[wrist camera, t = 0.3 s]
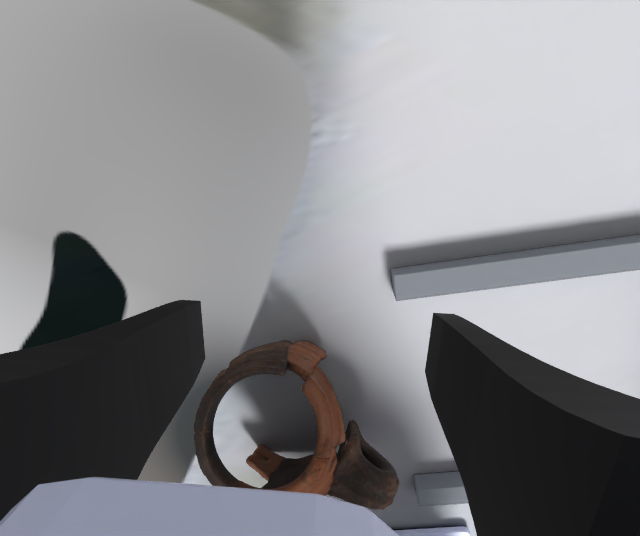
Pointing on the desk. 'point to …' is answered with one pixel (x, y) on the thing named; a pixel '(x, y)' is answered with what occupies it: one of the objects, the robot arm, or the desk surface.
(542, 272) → the frame
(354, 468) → the orange curved piece
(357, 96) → the desk surface
